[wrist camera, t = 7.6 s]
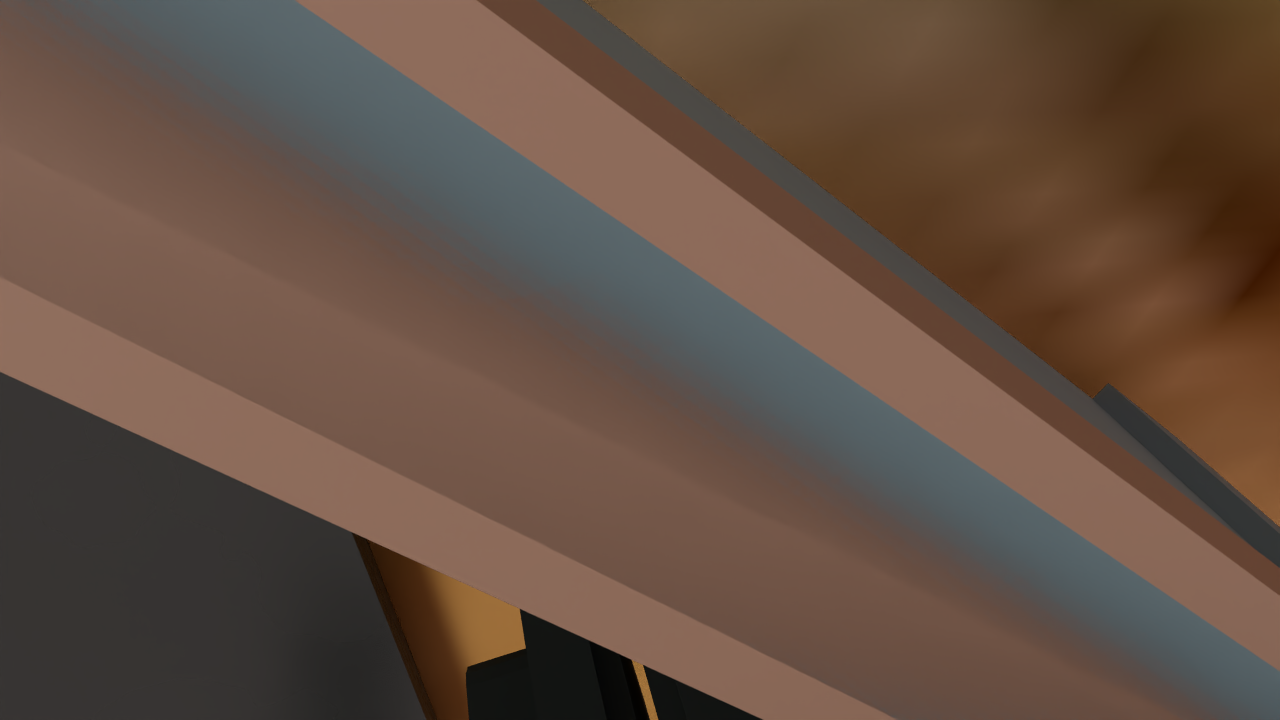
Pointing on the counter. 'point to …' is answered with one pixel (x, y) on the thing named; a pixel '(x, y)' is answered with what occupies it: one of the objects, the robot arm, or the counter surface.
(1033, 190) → the counter surface
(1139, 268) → the counter surface
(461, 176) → the gate
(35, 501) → the gate frame
